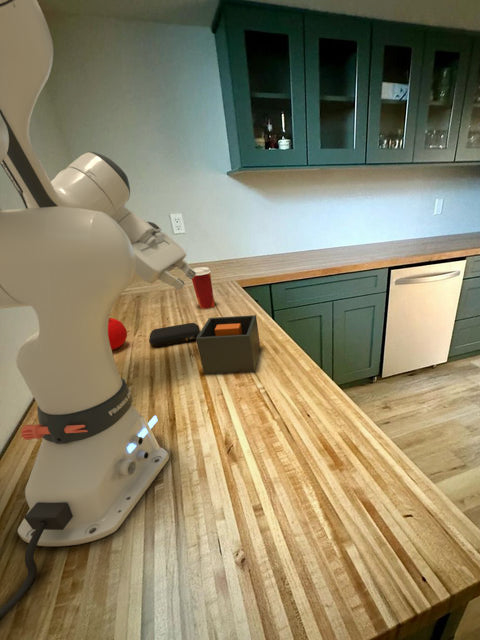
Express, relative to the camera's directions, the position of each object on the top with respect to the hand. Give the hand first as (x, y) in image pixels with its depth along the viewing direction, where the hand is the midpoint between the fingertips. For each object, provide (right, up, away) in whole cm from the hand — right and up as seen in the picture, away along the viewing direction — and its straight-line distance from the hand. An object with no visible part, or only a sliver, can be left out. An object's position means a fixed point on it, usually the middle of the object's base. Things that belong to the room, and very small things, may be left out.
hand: (188, 281), depth 78 cm
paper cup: (-10, +5, +52) cm, 53 cm away
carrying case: (-12, -11, +25) cm, 30 cm away
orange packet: (+8, -17, +10) cm, 22 cm away
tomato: (-30, -14, +22) cm, 40 cm away
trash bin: (+9, -18, +10) cm, 22 cm away
